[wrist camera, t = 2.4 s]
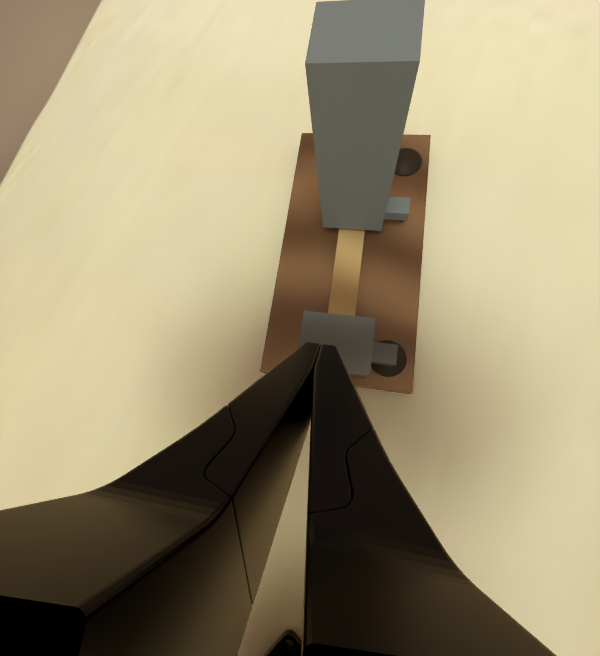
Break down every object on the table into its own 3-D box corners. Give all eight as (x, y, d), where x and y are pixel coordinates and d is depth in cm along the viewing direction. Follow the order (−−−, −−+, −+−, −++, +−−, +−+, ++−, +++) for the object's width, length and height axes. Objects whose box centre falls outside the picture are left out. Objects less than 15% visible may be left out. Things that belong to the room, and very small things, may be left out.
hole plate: (408, 393, 21) (429, 390, 16) (264, 373, 22) (242, 364, 17) (426, 147, 25) (447, 83, 20) (303, 144, 27) (294, 84, 22)
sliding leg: (404, 237, 22) (471, 59, 10) (323, 231, 23) (305, 63, 11) (407, 199, 22) (473, -7, 11) (329, 195, 23) (316, 2, 12)
